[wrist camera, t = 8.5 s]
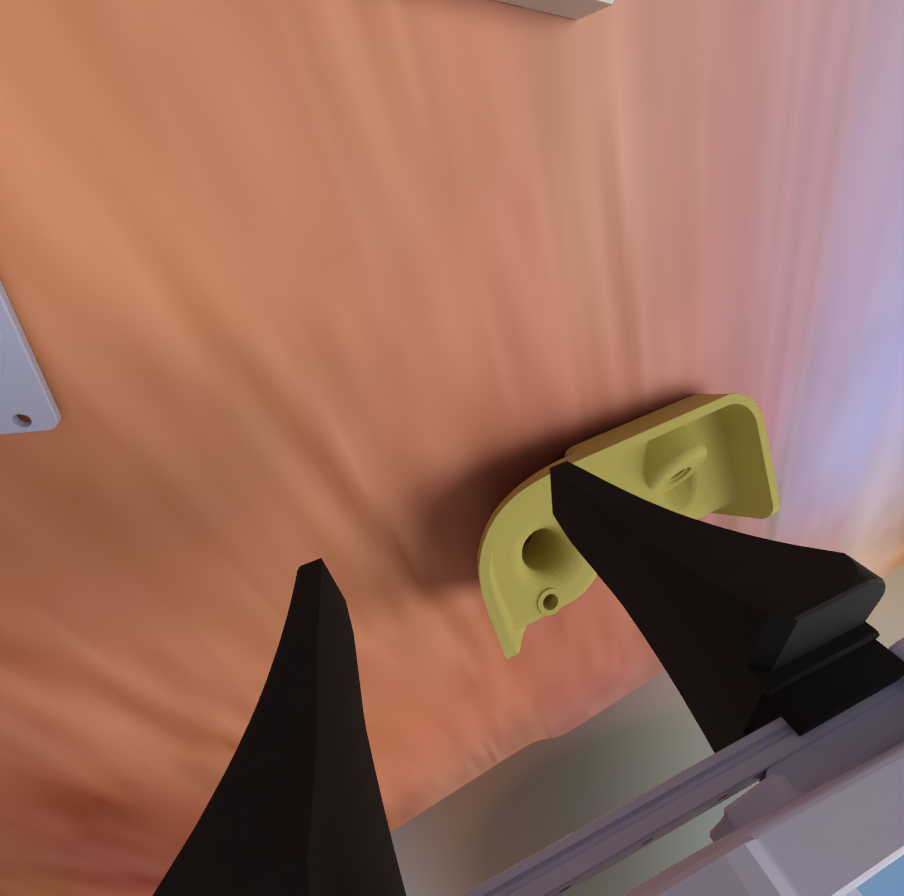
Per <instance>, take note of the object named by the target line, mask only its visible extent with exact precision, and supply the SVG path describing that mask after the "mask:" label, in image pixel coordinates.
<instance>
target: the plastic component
mask: <svg viewBox="0 0 904 896" xmlns="http://www.w3.org/2000/svg"><path fill="white" fill-rule="evenodd" d="M565 461H569V462H570V463H572V464H574V465H576V466H578V467H580V468H582V469H584V470H586V471H588V472H590V473H592V474H593V475H595V476H597V477H599V478H601V479H603V480H605V481H607V482H609V483H611V484H613V485H615V486H617V487H619V488H621V489H623V490H625V491H627V492H629V493H631V494H634V495H636V496H638V497H640V498H642V499H645V500H647V501H649V502H652V503H654V504H656V505H659V506H661V507H664V508H666V509H668V510H671V511H674V512H676V513H679V514H682V515H685V516H688V517H690V518H693V519H696V520H697V519H699V518H701V517H703V516H705V515H707V514H709V513H717V514H725V515H733V516H742V517H750V518H759V519H763V518H767V517H769V516H771V515H773V514H774V513H776V512H777V511H778V509H779V506H780V501H779V496H778V491H777V485H776V480H775V475H774V469H773V464H772V459H771V453H770V448H769V443H768V437H767V432H766V426H765V421H764V417H763V414H762V412H761V409H760V408H759V407H758V405H757V404H756V402H755V401H753V400H752V399H751V398H750V397H748V396H745V395H743V394H702V395H692V396H689V397H687V398H684V399H682V400H679V401H677V402H675V403H672V404H670V405H668V406H665V407H663V408H661V409H658V410H656V411H654V412H651V413H649V414H647V415H644V416H642V417H640V418H637V419H635V420H633V421H630V422H628V423H626V424H623V425H621V426H619V427H616V428H614V429H612V430H609V431H607V432H605V433H602V434H600V435H598V436H595V437H593V438H591V439H588V440H586V441H584V442H581V443H579V444H577V445H574V446H572V447H570V448H569V449H568V450H567V451H566V453H565V458H562V459H560V460H558V461H556V462H554V463H552V464H550V465H548V466H547V467H545V468H543V469H541V470H540V471H538V472H537V473H535V474H533V475H532V476H530V477H529V478H528V479H526V480H525V481H524V482H522V483H521V484H520V485H519V486H517V487H516V488H515V489H514V490H513V491H512V492H510V493H509V494H508V495H507V496H506V497H505V498H504V500H503V501H502V502H501V503H500V504H499V505H498V507H497V508H496V509H495V511H494V512H493V513H492V515H491V517H490V518H489V521H488V523H487V525H486V527H485V529H484V532H483V534H482V537H481V541H480V545H479V549H478V555H477V571H478V577H479V582H480V587H481V591H482V595H483V598H484V601H485V604H486V607H487V610H488V613H489V615H490V618H491V621H492V623H493V626H494V628H495V631H496V634H497V636H498V639H499V642H500V645H501V647H502V650H503V653H504V655H505V657H506V658H507V659H509V658H511V657H513V656H514V655H516V654H518V653H519V651H520V646H521V641H522V637H523V634H524V631H525V629H526V626H527V625H529V624H531V623H533V622H534V621H536V620H538V619H540V618H542V617H544V616H546V615H547V616H548V615H553V614H555V613H557V612H558V611H559V610H560V608H561V607H563V606H565V605H567V604H568V603H570V602H572V601H574V600H575V599H577V598H578V597H579V596H580V595H581V594H583V593H584V592H585V591H586V590H587V588H588V587H589V586H590V585H591V583H592V582H593V580H594V579H595V577H596V575H597V573H596V572H595V571H594V570H593V568H592V567H591V566H590V565H589V564H588V562H587V561H586V560H585V559H584V558H583V556H582V555H581V554H580V553H579V552H578V550H577V549H576V548H575V547H574V546H573V544H572V543H571V542H570V541H569V539H568V537H567V536H566V534H565V533H564V531H563V530H562V528H561V527H560V525H559V524H558V522H557V520H556V519H555V517H554V515H553V513H552V497H551V482H550V467H553V466H555V465H558V464H560V463H563V462H565ZM530 534H532V536H531V539H530V541H529V543H528V544H527V545H526V546H525V547H524V548H523V545H524V543H525V541H526V539H527V538H528V537H529V535H530Z"/></svg>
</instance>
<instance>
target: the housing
mask: <svg viewBox="0 0 904 896" xmlns="http://www.w3.org/2000/svg"><path fill="white" fill-rule="evenodd" d="M496 1H500V2H504V3H508V4H513V5H517V6H521V7H525V8H529V9H534V10H538V11H542V12H546V13H550V14H554V15H559V16H563V17H567V18H571V19H575V20H578V19H581V18H583V17H585V16H587V15H590V14H592V13H594V12H596V11H599V10H601V9H603V8H606V7H608V6H610V5H612V4H613V1H614V0H496Z"/></svg>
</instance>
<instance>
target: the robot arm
mask: <svg viewBox="0 0 904 896" xmlns="http://www.w3.org/2000/svg"><path fill="white" fill-rule="evenodd" d="M17 414H22V415H26V416H28V417H29V418H30V419H31V421H32V422H25V421H22V420H20V419H19V418H18V416H17ZM60 419H61V416H60V412H59V410H58V408H57V406H56V403H55V401H54V399H53V397H52V394H51V392H50V390H49V388H48V385H47V383H46V381H45V379H44V376H43V374H42V372H41V370H40V368H39V365H38V363H37V361H36V359H35V356H34V354H33V352H32V350H31V347H30V345H29V343H28V341H27V339H26V336H25V334H24V332H23V330H22V327H21V325H20V323H19V321H18V318H17V316H16V314H15V312H14V309H13V307H12V305H11V303H10V301H9V298H8V296H7V294H6V292H5V289H4V287H3V285H2V283H1V280H0V435H2V434H14V433H26V432H38V431H47V430H52V429H53V428H55V427H56V426H57V425H58V423H59V422H60ZM550 482H551V497H552V513H553V515H554V517H555V519H556V520H557V522H558V524H559V525H560V527H561V528H562V530H563V531H564V533H565V534H566V536H567V537H568V539H569V541H570V542H571V543H572V544H573V546H574V547H575V548H576V549H577V550H578V552H579V553H580V554H581V555H582V556H583V558H584V559H585V560H586V561H587V562H588V564H589V565H590V566H591V567H592V568H593V570H594V571H595V572H596V573H597V574H598V576H599V577H600V578H601V579H602V580H603V582H604V583H605V584H606V585H607V586H608V588H609V589H610V590H611V591H612V592H613V594H614V595H615V596H616V597H617V599H618V600H619V601H620V603H621V604H622V605H623V606H624V608H625V609H626V611H627V612H628V614H629V615H630V617H631V618H632V619H633V621H634V622H635V624H636V625H637V627H638V628H639V630H640V631H641V633H642V634H643V636H644V637H645V639H646V640H647V642H648V643H649V645H650V646H651V648H652V649H653V651H654V653H655V654H656V656H657V657H658V659H659V660H660V662H661V663H662V665H663V666H664V668H665V670H666V671H667V673H668V674H669V676H670V678H671V679H672V681H673V683H674V684H675V686H676V688H677V689H678V691H679V692H680V694H681V696H682V697H683V699H684V701H685V702H686V704H687V706H688V708H689V709H690V711H691V713H692V714H693V716H694V718H695V720H696V721H697V723H698V725H699V726H700V728H701V730H702V731H703V733H704V735H705V737H706V738H707V740H708V742H709V744H710V746H711V747H712V749H713V751H714V752H715V754H713V755H711V756H709V757H708V758H706V759H704V760H702V761H700V762H699V763H697V764H695V765H693V766H691V767H690V768H688V769H686V770H684V771H682V772H681V773H679V774H677V775H675V776H674V777H672V778H670V779H668V780H666V781H665V782H663V783H661V784H659V785H658V786H656V787H654V788H652V789H650V790H649V791H647V792H645V793H643V794H641V795H639V796H638V797H636V798H634V799H632V800H630V801H629V802H627V803H625V804H623V805H621V806H620V807H618V808H616V809H614V810H612V811H611V812H609V813H607V814H605V815H603V816H602V817H600V818H598V819H596V820H595V821H593V822H591V823H589V824H587V825H586V826H584V827H582V828H580V829H578V830H577V831H575V832H573V833H571V834H569V835H568V836H566V837H564V838H562V839H560V840H559V841H557V842H555V843H553V844H551V845H550V846H548V847H546V848H544V849H542V850H541V851H539V852H537V853H535V854H534V855H532V856H530V857H528V858H527V859H524V860H523V861H521V862H519V863H517V864H515V865H514V866H512V867H510V868H508V869H506V870H505V871H503V872H501V873H500V874H497V875H496V876H494V877H492V878H490V879H489V880H487V881H485V882H483V883H481V884H480V885H478V886H476V887H475V888H472V889H471V890H469V891H467V892H465V893H463V894H462V895H460V896H561V895H562V894H564V893H566V892H568V891H569V890H571V889H573V888H575V887H576V886H578V885H580V884H581V883H583V882H585V881H587V880H588V879H590V878H592V877H593V876H595V875H597V874H599V873H600V872H602V871H604V870H605V869H607V868H609V867H611V866H612V865H614V864H616V863H618V862H619V861H621V860H623V859H624V858H626V857H628V856H630V855H631V854H633V853H635V852H636V851H638V850H640V849H642V848H643V847H645V846H646V845H648V844H650V843H652V842H654V841H655V840H657V839H659V838H661V837H662V836H664V835H666V834H667V833H669V832H671V831H673V830H674V829H676V828H678V827H679V826H681V825H683V824H684V823H686V822H688V821H690V820H691V819H693V818H695V817H697V816H698V815H700V814H702V813H703V812H705V811H707V810H709V809H711V808H712V807H714V806H716V805H717V804H719V803H721V802H722V801H724V800H726V799H728V798H729V797H731V796H733V795H735V794H736V793H738V792H740V791H741V790H743V789H745V788H747V787H748V786H750V785H752V784H753V783H755V782H757V781H759V780H760V781H759V783H758V784H757V785H755V786H754V787H753V788H751V789H750V790H749V791H747V792H746V793H745V794H743V795H742V796H741V797H739V798H738V799H736V800H735V801H733V802H732V803H731V804H729V805H728V806H727V807H725V808H724V816H723V817H722V819H721V821H720V822H719V823H718V824H717V825H716V826H715V827H714V828H713V829H712V830H711V831H710V837H711V839H712V840H713V842H714V843H712V844H710V845H708V846H706V847H705V848H703V849H701V850H699V851H697V852H695V853H693V854H692V855H690V856H688V857H686V858H685V859H683V860H681V861H679V862H678V863H676V864H674V865H673V866H671V867H669V868H667V869H666V870H664V871H662V872H660V873H659V874H657V875H655V876H654V877H652V878H650V879H649V880H647V881H645V882H644V883H642V884H640V885H639V886H637V887H636V888H634V889H632V890H631V891H629V892H627V893H626V894H624V895H622V896H862V895H861V894H860V893H859V891H858V890H857V889H856V887H857V886H859V885H860V884H862V883H863V882H865V881H866V880H868V879H869V878H870V877H872V876H873V875H875V874H876V873H878V872H879V871H880V870H882V869H883V868H885V867H886V866H887V865H889V864H890V863H892V862H893V861H895V860H896V859H897V858H899V857H900V856H902V855H903V854H904V638H902V639H901V640H899V641H897V642H896V643H895V644H893V645H892V646H891V647H890V648H889V649H887V648H886V647H885V646H883V645H882V644H881V643H880V642H878V641H877V640H876V638H878V636H879V633H878V631H877V630H876V629H874V628H873V627H872V626H870V625H869V624H868V623H867V622H865V621H866V619H867V618H868V616H869V615H870V614H871V612H872V611H873V609H874V608H875V606H876V605H877V604H878V602H879V601H880V599H881V597H882V596H883V594H884V591H885V583H884V581H883V579H882V578H880V577H879V576H877V575H876V574H874V573H873V572H871V571H870V570H868V569H867V568H866V567H864V566H863V565H861V564H860V563H858V562H857V561H855V560H854V559H852V558H851V557H849V556H848V555H846V554H845V553H840V552H834V551H827V550H821V549H815V548H809V547H803V546H797V545H792V544H787V543H782V542H777V541H773V540H768V539H763V538H759V537H755V536H751V535H747V534H743V533H739V532H736V531H732V530H729V529H725V528H721V527H718V526H715V525H711V524H708V523H705V522H702V521H699V520H696V519H693V518H690V517H688V516H685V515H682V514H679V513H676V512H674V511H671V510H668V509H666V508H664V507H661V506H659V505H656V504H654V503H652V502H649V501H647V500H645V499H642V498H640V497H638V496H636V495H634V494H631V493H629V492H627V491H625V490H623V489H621V488H619V487H617V486H615V485H613V484H611V483H609V482H607V481H605V480H603V479H601V478H599V477H597V476H595V475H593V474H592V473H590V472H588V471H586V470H584V469H582V468H580V467H578V466H576V465H574V464H572V463H570V462H569V461H565V462H563V463H560V464H558V465H555V466H553V467H550ZM153 896H406V893H405V889H404V885H403V881H402V877H401V874H400V870H399V866H398V862H397V858H396V855H395V851H394V847H393V843H392V839H391V835H390V831H389V827H388V822H387V818H386V814H385V810H384V806H383V802H382V798H381V793H380V789H379V785H378V780H377V776H376V772H375V768H374V763H373V759H372V754H371V749H370V745H369V740H368V736H367V731H366V726H365V720H364V713H363V706H362V698H361V689H360V681H359V673H358V665H357V657H356V649H355V641H354V634H353V629H352V625H351V621H350V617H349V613H348V609H347V605H346V601H345V599H344V597H343V595H342V593H341V592H340V590H339V588H338V586H337V585H336V583H335V581H334V579H333V578H332V576H331V574H330V573H329V571H328V569H327V567H326V566H325V564H324V562H323V560H322V559H321V558H320V559H317V560H315V561H312V562H310V563H307V564H305V565H302V566H300V567H299V569H298V571H297V576H296V581H295V586H294V590H293V595H292V599H291V603H290V607H289V611H288V615H287V618H286V622H285V625H284V629H283V632H282V636H281V639H280V642H279V646H278V649H277V652H276V655H275V657H274V660H273V663H272V666H271V669H270V672H269V675H268V678H267V680H266V683H265V686H264V688H263V691H262V693H261V696H260V698H259V701H258V703H257V706H256V708H255V710H254V713H253V715H252V717H251V720H250V722H249V724H248V726H247V728H246V731H245V733H244V735H243V737H242V739H241V741H240V743H239V746H238V748H237V750H236V752H235V754H234V756H233V758H232V760H231V762H230V764H229V766H228V768H227V770H226V772H225V774H224V776H223V777H222V779H221V781H220V783H219V785H218V786H217V788H216V790H215V792H214V794H213V796H212V797H211V799H210V801H209V803H208V805H207V807H206V808H205V810H204V812H203V814H202V816H201V818H200V819H199V821H198V823H197V824H196V826H195V828H194V830H193V831H192V833H191V835H190V836H189V838H188V839H187V841H186V843H185V844H184V846H183V848H182V849H181V851H180V852H179V854H178V856H177V857H176V859H175V860H174V862H173V864H172V865H171V867H170V869H169V870H168V872H167V873H166V875H165V877H164V878H163V880H162V882H161V883H160V885H159V886H158V888H157V889H156V891H155V892H154V894H153Z"/></svg>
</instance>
